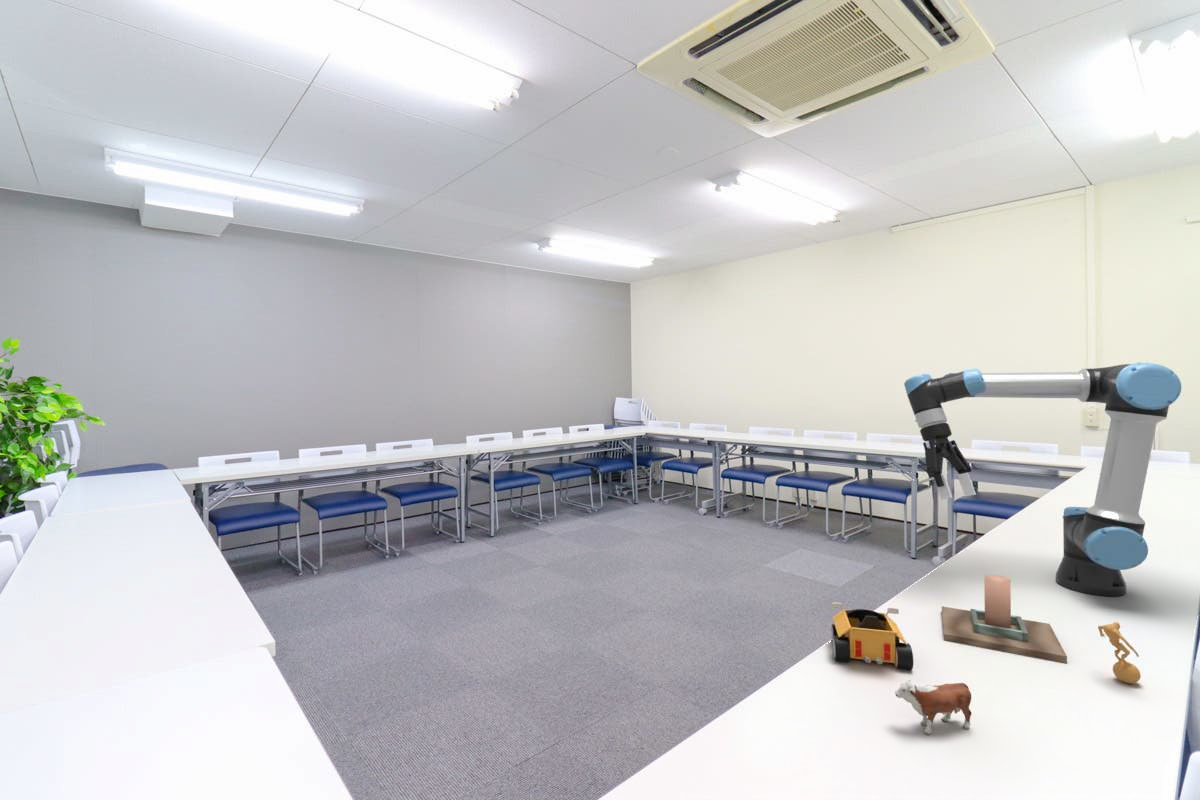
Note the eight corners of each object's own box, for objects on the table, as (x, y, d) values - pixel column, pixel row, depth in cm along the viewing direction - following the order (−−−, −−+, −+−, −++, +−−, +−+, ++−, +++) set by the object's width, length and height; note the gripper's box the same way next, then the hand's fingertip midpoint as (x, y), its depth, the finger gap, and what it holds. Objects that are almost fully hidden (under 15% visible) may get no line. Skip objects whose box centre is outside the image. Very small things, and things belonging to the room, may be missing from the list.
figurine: (1156, 694, 102) (1157, 632, 102) (1122, 693, 103) (1122, 631, 103) (1118, 671, 111) (1119, 613, 110) (1087, 670, 111) (1087, 613, 111)
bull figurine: (891, 721, 96) (891, 676, 96) (962, 716, 97) (961, 671, 97) (907, 737, 91) (907, 690, 91) (981, 731, 92) (980, 685, 92)
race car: (898, 644, 124) (897, 599, 124) (915, 677, 110) (915, 627, 110) (828, 636, 129) (828, 593, 129) (836, 668, 114) (836, 619, 114)
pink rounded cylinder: (1009, 626, 128) (1009, 576, 128) (1012, 635, 124) (1011, 583, 124) (983, 622, 131) (983, 573, 131) (985, 630, 127) (985, 580, 126)
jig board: (1049, 629, 129) (1049, 615, 129) (1067, 663, 114) (1067, 647, 114) (941, 611, 141) (941, 598, 141) (944, 640, 125) (944, 625, 125)
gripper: (942, 429, 168) (966, 496, 162) (897, 429, 155) (922, 502, 149) (967, 422, 162) (993, 491, 156) (923, 421, 149) (950, 497, 143)
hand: (959, 497), depth 152 cm, fingers open, 13 cm apart
